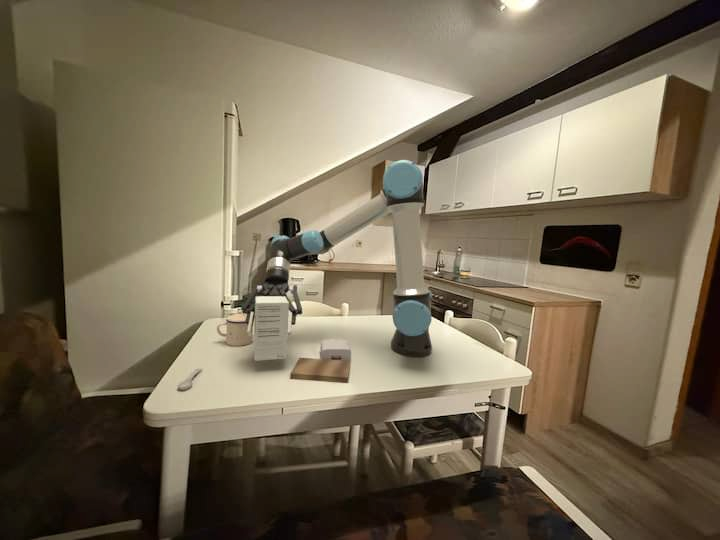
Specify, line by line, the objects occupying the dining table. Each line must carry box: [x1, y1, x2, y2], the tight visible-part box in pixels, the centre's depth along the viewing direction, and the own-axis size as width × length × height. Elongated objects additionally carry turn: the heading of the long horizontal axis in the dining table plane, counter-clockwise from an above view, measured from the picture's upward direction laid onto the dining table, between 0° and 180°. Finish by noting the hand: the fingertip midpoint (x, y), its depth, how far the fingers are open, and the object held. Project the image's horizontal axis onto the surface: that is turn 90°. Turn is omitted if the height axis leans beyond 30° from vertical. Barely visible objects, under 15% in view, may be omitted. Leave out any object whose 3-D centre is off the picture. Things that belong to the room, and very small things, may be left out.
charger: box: [320, 338, 352, 362], centre depth 100 cm, size 5×9×15 cm
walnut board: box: [289, 357, 351, 384], centre depth 86 cm, size 16×11×2 cm
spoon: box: [177, 368, 204, 391], centre depth 76 cm, size 3×12×2 cm, turn 11°
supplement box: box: [253, 295, 290, 362], centre depth 87 cm, size 10×9×17 cm
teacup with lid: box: [216, 309, 254, 347], centre depth 103 cm, size 12×9×12 cm
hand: (269, 333), depth 84 cm, fingers closed on supplement box, 10 cm apart
